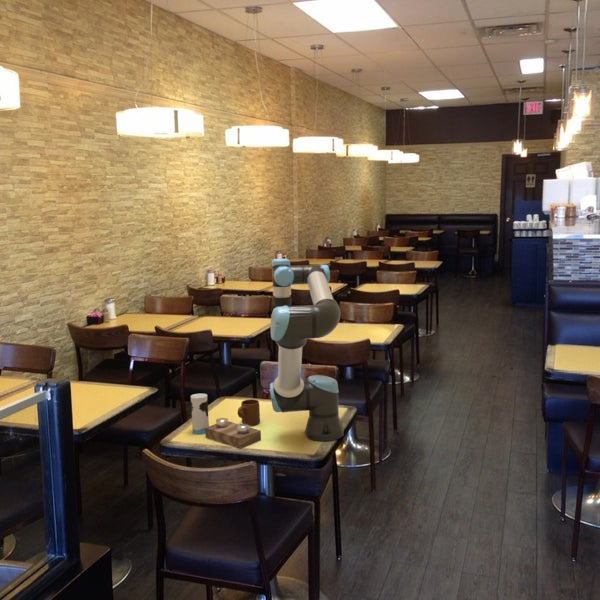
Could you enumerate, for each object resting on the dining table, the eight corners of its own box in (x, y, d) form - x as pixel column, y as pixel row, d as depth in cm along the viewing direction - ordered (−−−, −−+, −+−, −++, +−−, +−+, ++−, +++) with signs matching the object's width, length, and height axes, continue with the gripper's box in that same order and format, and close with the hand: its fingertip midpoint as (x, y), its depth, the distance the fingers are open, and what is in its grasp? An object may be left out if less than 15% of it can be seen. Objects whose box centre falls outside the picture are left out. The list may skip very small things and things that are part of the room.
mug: (246, 430, 272) (245, 408, 270) (231, 427, 276) (230, 405, 274) (263, 422, 281) (262, 400, 280) (249, 419, 286) (248, 398, 284)
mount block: (261, 440, 260) (260, 430, 260) (240, 448, 252) (240, 438, 252) (226, 429, 273) (225, 420, 273) (205, 437, 265) (205, 427, 265)
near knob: (252, 440, 259) (251, 425, 258) (243, 443, 256) (242, 428, 255) (243, 437, 262) (243, 422, 261) (235, 441, 259) (234, 426, 258)
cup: (212, 430, 273) (210, 394, 271) (201, 435, 268) (199, 399, 266) (200, 427, 277) (198, 392, 275) (189, 432, 272) (187, 396, 269)
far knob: (230, 433, 267) (230, 419, 266) (222, 437, 263) (221, 422, 263) (223, 431, 270) (222, 417, 269) (214, 434, 266) (213, 420, 266)
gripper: (286, 293, 284) (287, 347, 287) (264, 297, 274) (266, 353, 278) (299, 294, 279) (300, 350, 282) (277, 298, 269) (279, 356, 273)
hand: (283, 351), depth 280 cm, fingers closed
